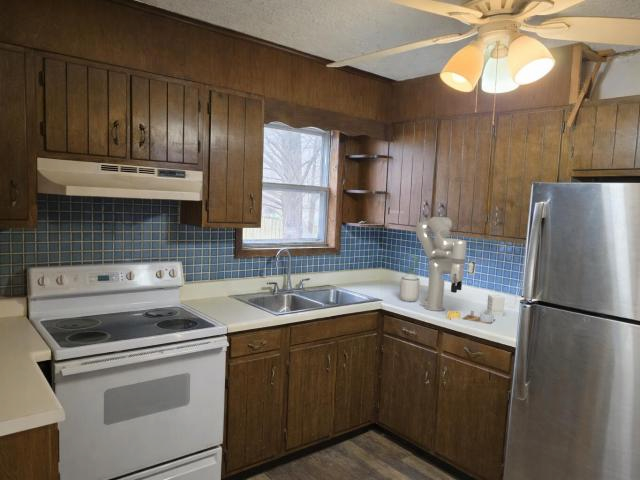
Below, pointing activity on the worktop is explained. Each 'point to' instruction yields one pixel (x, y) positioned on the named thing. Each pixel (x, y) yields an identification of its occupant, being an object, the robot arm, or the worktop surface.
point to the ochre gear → (453, 314)
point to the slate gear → (486, 317)
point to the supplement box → (496, 305)
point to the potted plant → (410, 284)
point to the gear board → (476, 318)
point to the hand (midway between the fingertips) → (456, 291)
